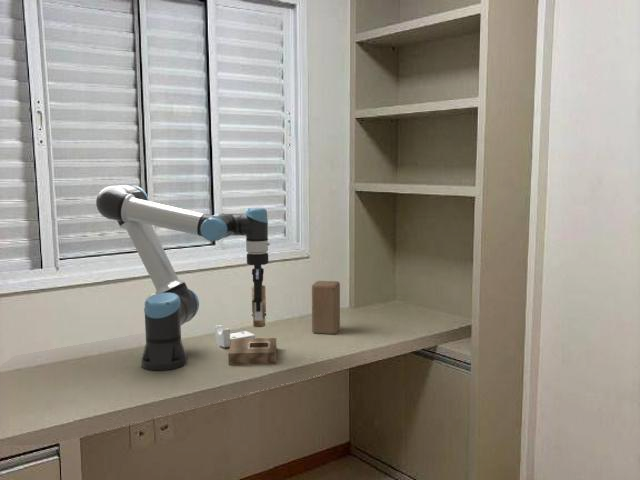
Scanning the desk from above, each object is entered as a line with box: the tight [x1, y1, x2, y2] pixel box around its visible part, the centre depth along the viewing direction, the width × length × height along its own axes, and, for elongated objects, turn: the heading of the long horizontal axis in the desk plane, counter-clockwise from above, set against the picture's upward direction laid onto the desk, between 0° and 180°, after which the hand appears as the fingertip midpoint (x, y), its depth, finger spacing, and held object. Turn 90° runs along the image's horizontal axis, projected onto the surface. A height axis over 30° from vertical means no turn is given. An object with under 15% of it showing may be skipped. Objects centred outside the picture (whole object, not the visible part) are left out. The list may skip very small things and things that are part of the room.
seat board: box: [227, 337, 277, 366], centre depth 220 cm, size 16×18×4 cm
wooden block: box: [311, 280, 341, 335], centre depth 253 cm, size 10×10×20 cm
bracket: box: [214, 324, 256, 348], centre depth 236 cm, size 13×7×8 cm, turn 124°
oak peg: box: [251, 284, 267, 328], centre depth 219 cm, size 5×5×14 cm
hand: (258, 318), depth 219 cm, fingers closed on oak peg, 5 cm apart
